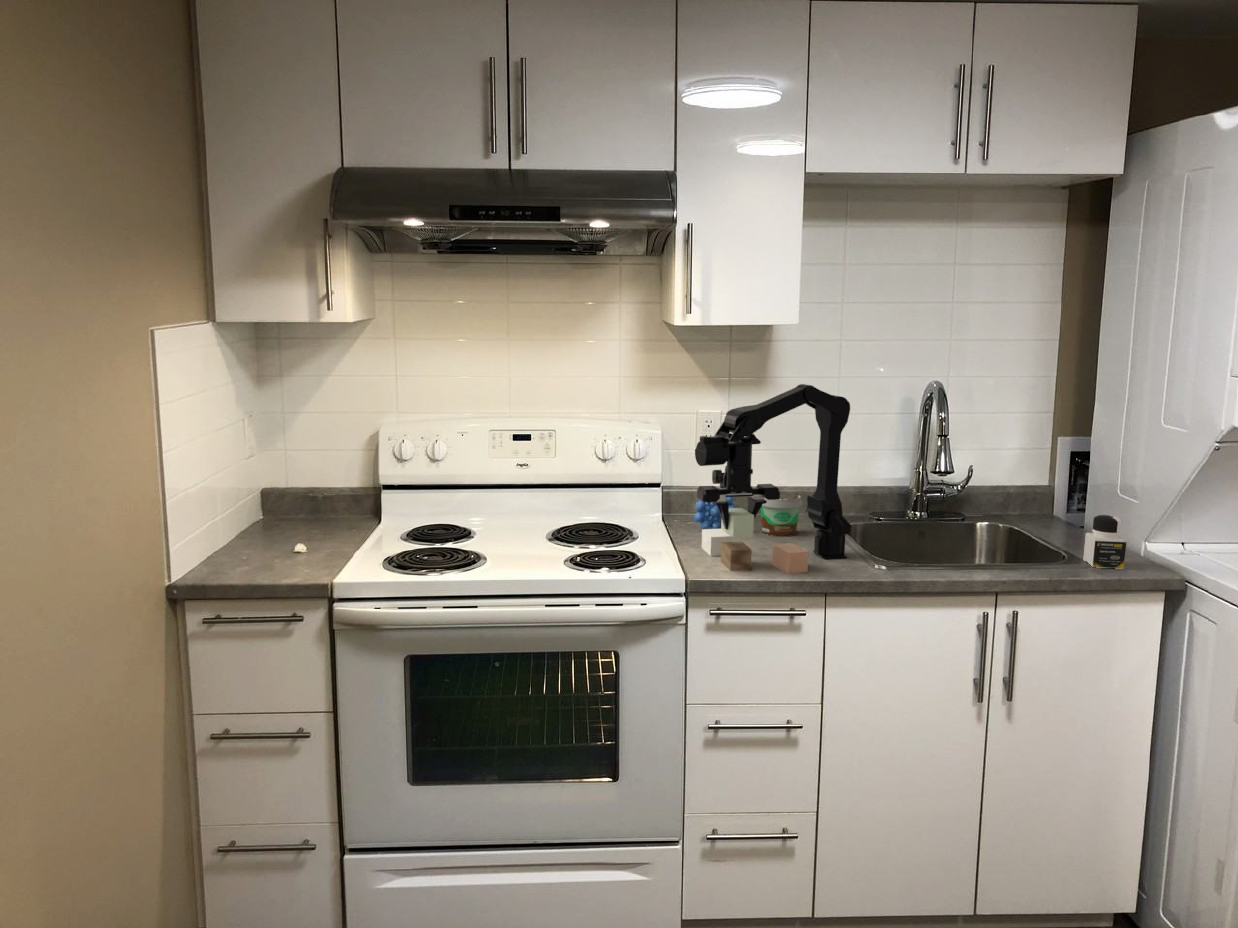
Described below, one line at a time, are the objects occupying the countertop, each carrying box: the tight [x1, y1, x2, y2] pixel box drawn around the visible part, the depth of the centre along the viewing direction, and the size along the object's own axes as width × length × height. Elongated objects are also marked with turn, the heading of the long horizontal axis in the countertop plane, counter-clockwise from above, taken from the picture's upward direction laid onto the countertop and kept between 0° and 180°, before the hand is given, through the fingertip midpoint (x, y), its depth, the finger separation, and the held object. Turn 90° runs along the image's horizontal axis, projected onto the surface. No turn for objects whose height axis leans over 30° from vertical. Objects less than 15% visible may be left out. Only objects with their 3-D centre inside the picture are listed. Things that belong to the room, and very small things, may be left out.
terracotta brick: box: [771, 542, 809, 574], centre depth 231 cm, size 5×8×5 cm, turn 19°
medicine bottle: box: [1083, 514, 1127, 570], centre depth 236 cm, size 7×7×12 cm
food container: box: [760, 495, 803, 537], centre depth 263 cm, size 12×6×10 cm, turn 105°
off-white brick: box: [701, 528, 732, 557], centre depth 245 cm, size 5×8×5 cm, turn 11°
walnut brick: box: [720, 540, 753, 572], centre depth 233 cm, size 5×8×5 cm, turn 9°
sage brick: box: [721, 507, 755, 538], centre depth 232 cm, size 5×8×5 cm, turn 14°
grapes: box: [693, 487, 738, 531], centre depth 266 cm, size 12×7×12 cm, turn 90°
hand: (737, 528), depth 232 cm, fingers closed on sage brick, 5 cm apart
